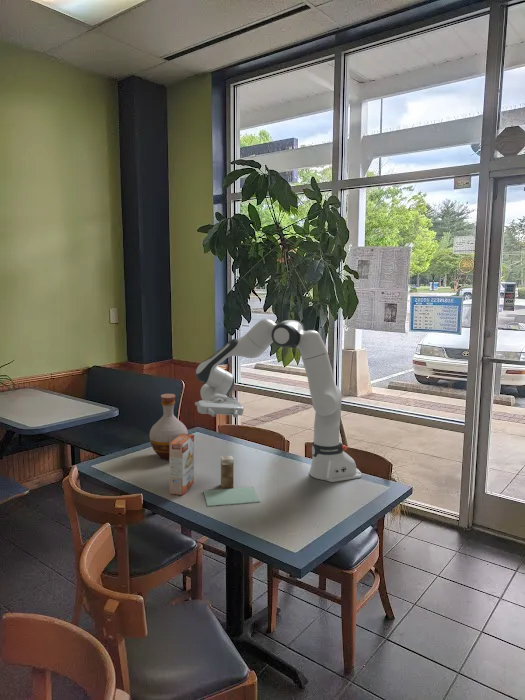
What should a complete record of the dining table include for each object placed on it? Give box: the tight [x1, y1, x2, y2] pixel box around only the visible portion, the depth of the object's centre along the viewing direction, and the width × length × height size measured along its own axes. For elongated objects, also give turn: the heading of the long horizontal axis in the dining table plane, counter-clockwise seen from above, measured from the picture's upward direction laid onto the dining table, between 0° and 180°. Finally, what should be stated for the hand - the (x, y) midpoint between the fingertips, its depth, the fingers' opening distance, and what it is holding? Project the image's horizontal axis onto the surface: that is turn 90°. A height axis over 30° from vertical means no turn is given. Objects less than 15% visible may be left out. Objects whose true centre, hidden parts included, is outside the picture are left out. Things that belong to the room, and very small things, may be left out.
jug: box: [149, 393, 189, 461], centre depth 248 cm, size 20×18×30 cm
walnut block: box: [220, 455, 234, 489], centre depth 214 cm, size 4×4×12 cm
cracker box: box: [168, 433, 195, 496], centre depth 210 cm, size 14×6×21 cm, turn 168°
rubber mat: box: [203, 486, 261, 507], centre depth 204 cm, size 20×14×1 cm
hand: (225, 415), depth 221 cm, fingers open, 8 cm apart
